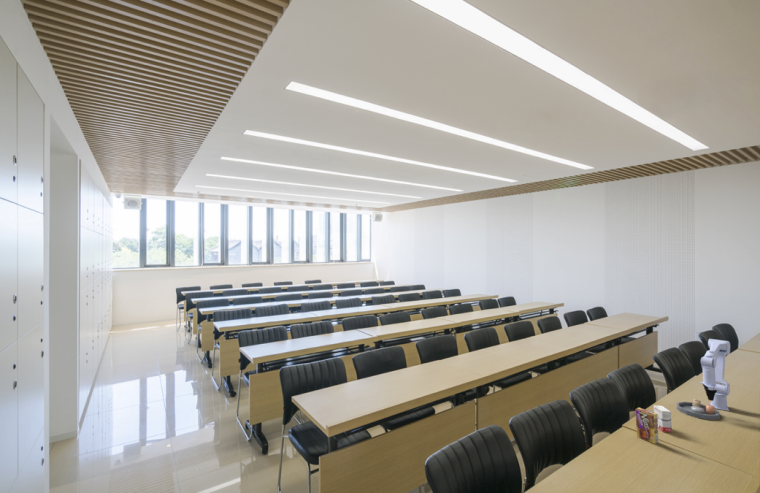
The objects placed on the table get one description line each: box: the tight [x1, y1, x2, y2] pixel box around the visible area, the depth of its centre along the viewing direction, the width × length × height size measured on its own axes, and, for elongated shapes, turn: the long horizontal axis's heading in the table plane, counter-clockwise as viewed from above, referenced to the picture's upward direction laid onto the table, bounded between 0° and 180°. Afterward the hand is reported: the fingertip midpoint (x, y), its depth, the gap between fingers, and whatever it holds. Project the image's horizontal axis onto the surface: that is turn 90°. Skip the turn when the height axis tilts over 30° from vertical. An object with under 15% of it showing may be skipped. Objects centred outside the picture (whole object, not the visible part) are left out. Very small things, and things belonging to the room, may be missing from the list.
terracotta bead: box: [705, 404, 716, 415], centre depth 215 cm, size 4×4×5 cm
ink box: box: [653, 404, 673, 433], centre depth 198 cm, size 9×5×12 cm, turn 168°
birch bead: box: [691, 399, 702, 408], centre depth 223 cm, size 4×4×5 cm
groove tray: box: [676, 401, 721, 421], centre depth 218 cm, size 20×20×3 cm
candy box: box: [635, 407, 659, 445], centre depth 187 cm, size 9×4×15 cm, turn 26°
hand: (709, 398), depth 215 cm, fingers open, 7 cm apart
